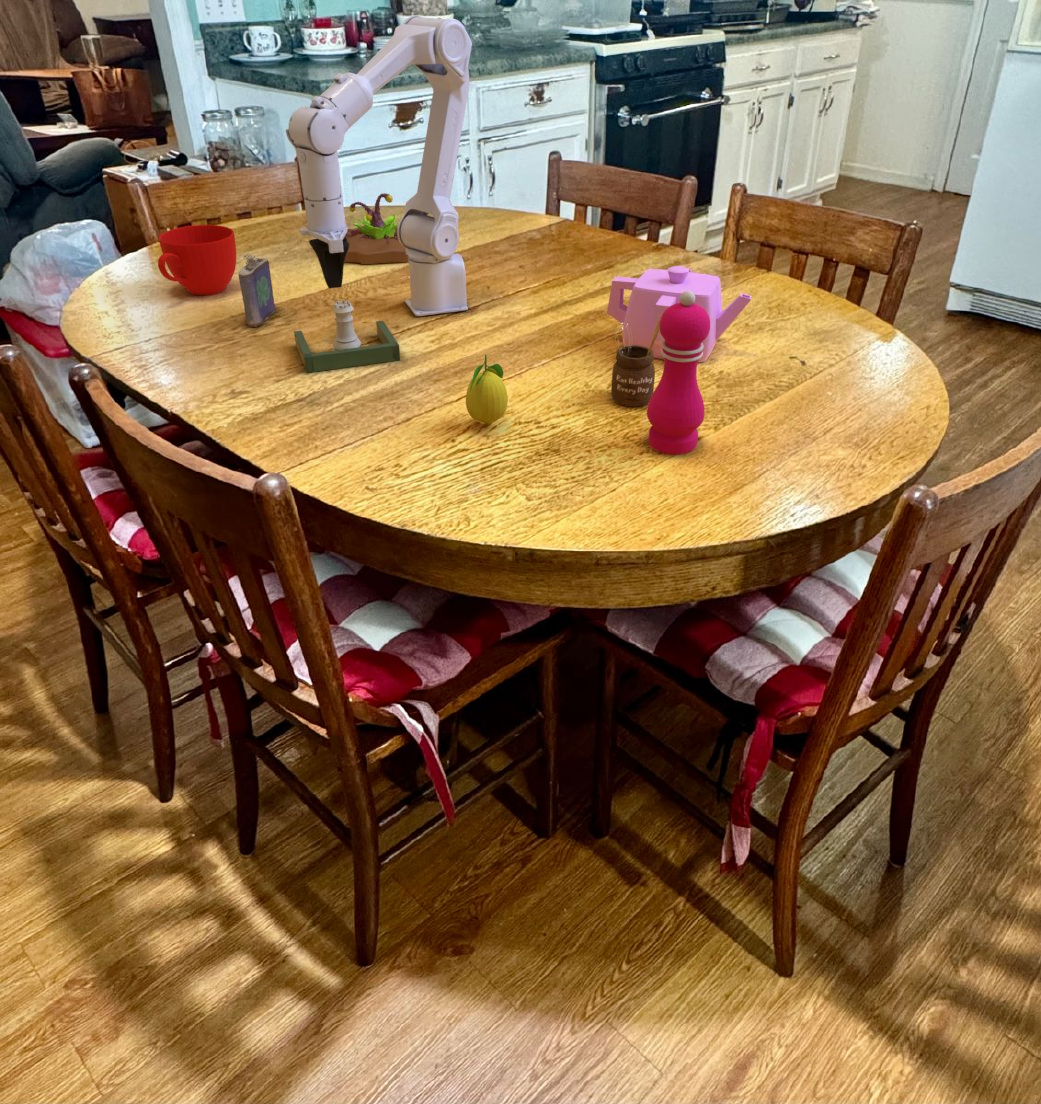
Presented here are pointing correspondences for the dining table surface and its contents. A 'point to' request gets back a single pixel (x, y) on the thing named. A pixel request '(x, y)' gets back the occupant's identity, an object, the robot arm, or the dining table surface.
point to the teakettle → (669, 304)
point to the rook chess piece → (345, 327)
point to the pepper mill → (679, 378)
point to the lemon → (487, 394)
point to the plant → (374, 238)
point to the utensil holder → (633, 373)
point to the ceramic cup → (199, 257)
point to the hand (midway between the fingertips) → (334, 286)
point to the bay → (349, 353)
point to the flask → (256, 290)
